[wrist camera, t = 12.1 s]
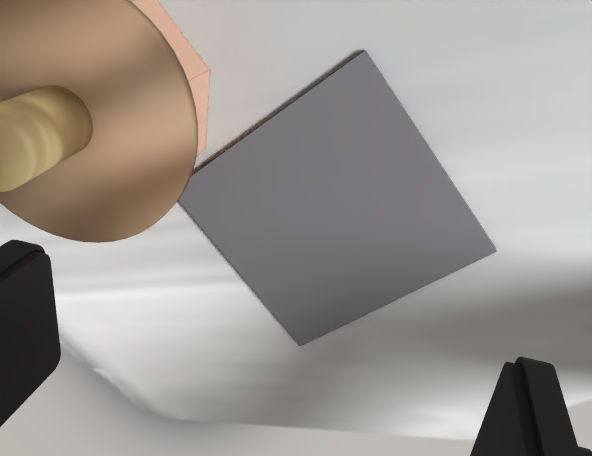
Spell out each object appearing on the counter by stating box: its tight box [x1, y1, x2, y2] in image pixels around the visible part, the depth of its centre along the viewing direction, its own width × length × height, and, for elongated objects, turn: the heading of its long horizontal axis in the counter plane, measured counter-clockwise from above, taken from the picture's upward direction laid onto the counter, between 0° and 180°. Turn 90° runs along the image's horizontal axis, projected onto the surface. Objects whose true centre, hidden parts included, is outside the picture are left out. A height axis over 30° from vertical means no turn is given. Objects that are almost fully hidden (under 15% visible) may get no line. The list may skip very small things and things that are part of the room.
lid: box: [0, 0, 198, 243], centre depth 29 cm, size 16×16×7 cm
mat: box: [179, 50, 497, 346], centre depth 38 cm, size 16×17×1 cm
